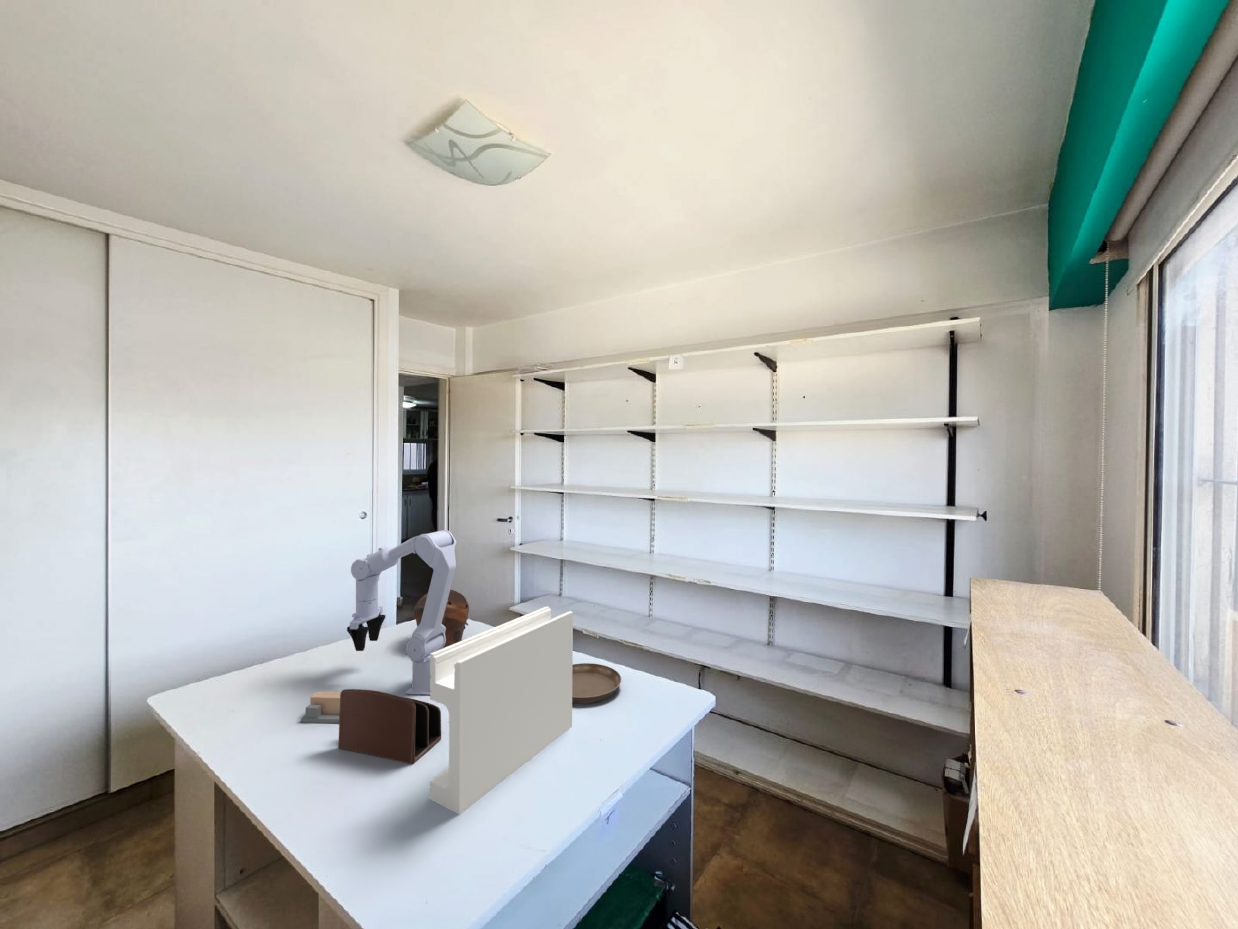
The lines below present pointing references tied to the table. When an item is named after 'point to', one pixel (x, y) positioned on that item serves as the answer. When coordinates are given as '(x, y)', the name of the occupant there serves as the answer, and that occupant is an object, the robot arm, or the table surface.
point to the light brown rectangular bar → (327, 702)
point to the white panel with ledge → (501, 701)
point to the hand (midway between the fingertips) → (367, 645)
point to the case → (448, 616)
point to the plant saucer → (593, 682)
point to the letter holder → (387, 725)
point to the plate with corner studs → (318, 716)
